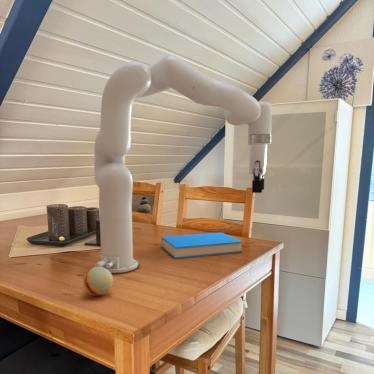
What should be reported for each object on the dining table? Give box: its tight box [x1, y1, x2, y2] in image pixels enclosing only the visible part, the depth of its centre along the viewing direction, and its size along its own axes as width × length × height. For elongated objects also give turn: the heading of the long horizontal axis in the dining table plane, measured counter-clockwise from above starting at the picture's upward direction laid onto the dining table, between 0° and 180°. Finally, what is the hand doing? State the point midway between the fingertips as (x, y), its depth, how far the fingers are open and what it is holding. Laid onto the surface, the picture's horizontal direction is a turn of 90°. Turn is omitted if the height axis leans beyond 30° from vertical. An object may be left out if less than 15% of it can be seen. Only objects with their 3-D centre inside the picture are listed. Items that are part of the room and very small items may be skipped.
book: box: [161, 232, 243, 260], centre depth 128 cm, size 17×4×25 cm
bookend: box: [84, 218, 101, 247], centre depth 139 cm, size 14×9×10 cm, turn 163°
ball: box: [82, 266, 114, 297], centre depth 85 cm, size 7×7×7 cm
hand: (258, 191), depth 121 cm, fingers open, 9 cm apart
